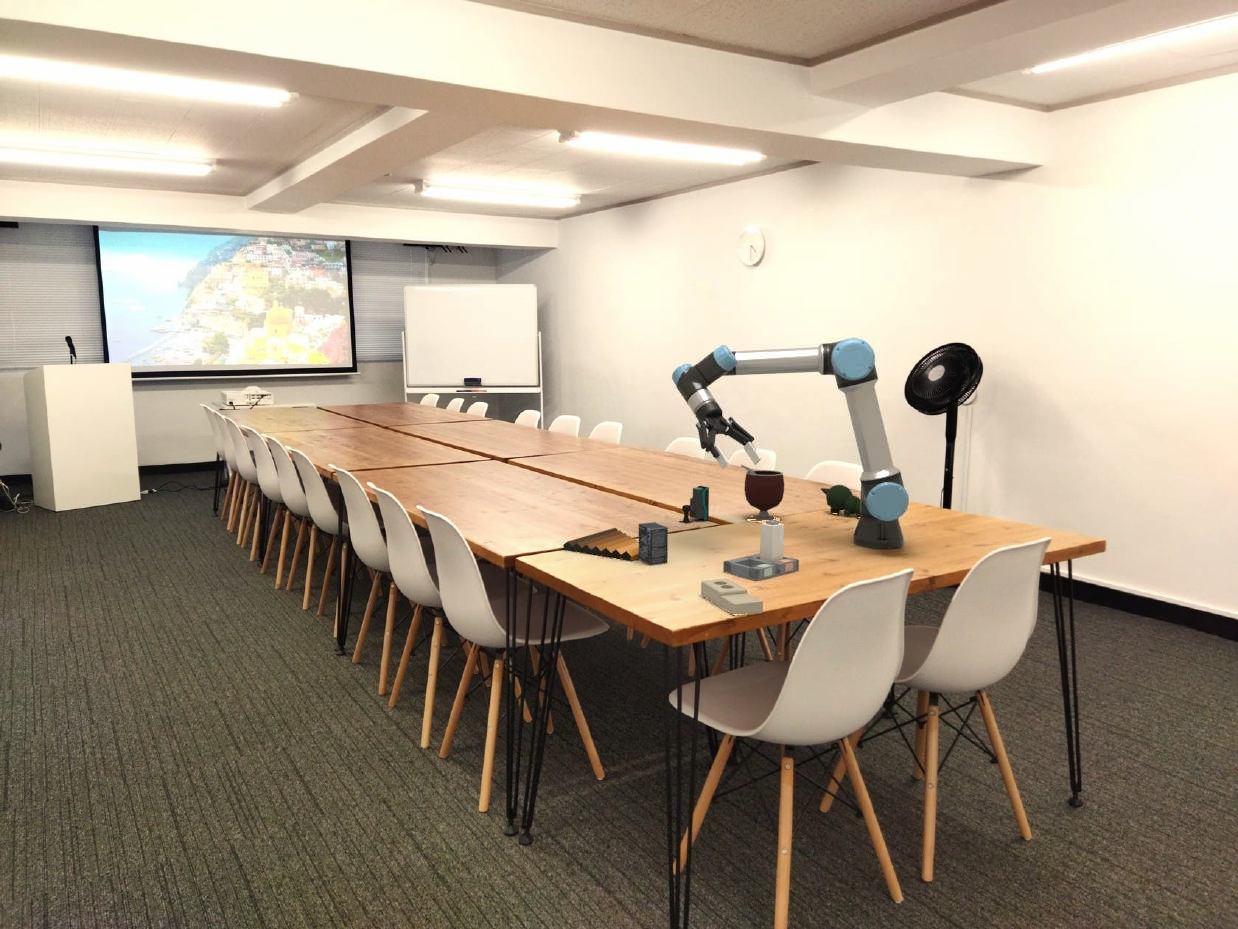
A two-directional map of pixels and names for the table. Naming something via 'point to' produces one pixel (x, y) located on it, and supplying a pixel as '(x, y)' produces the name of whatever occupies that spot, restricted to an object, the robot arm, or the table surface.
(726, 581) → the electrical outlet
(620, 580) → the table surface
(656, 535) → the box
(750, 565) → the socket block
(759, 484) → the mate gourd
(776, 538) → the plug
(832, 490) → the toy figurine
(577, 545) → the pan flute
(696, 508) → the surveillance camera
